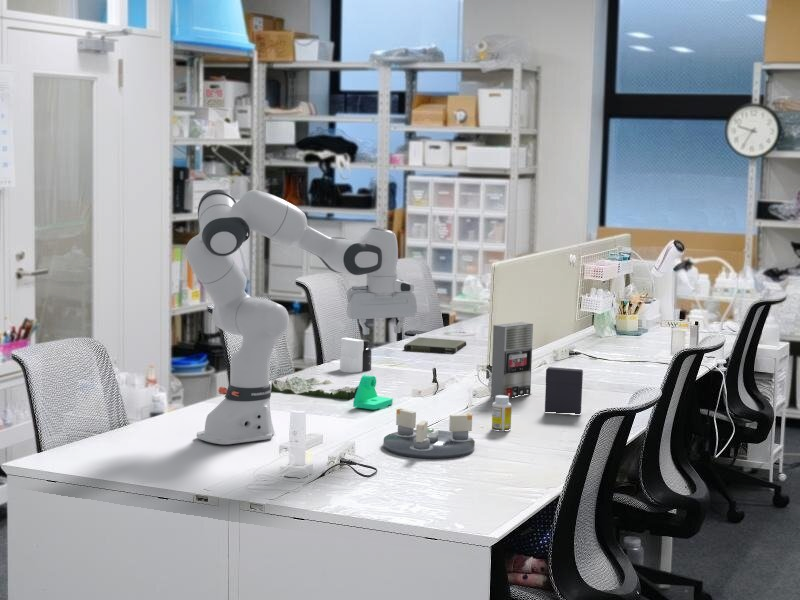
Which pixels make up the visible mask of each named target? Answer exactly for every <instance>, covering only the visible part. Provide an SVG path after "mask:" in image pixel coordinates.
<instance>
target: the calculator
mask: <svg viewBox="0 0 800 600" xmlns="http://www.w3.org/2000/svg"><path fill="white" fill-rule="evenodd" d="M583 376H584V371H583V369H581V368H567V367H551V366H548V367H547V368H546V369H545V393H544V394H545V397H544V413H545V412H556V413H575V414H580V413H581V414H582V402H583V401H582V396H583V380H584V379H583V378H584V377H583Z"/></svg>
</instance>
